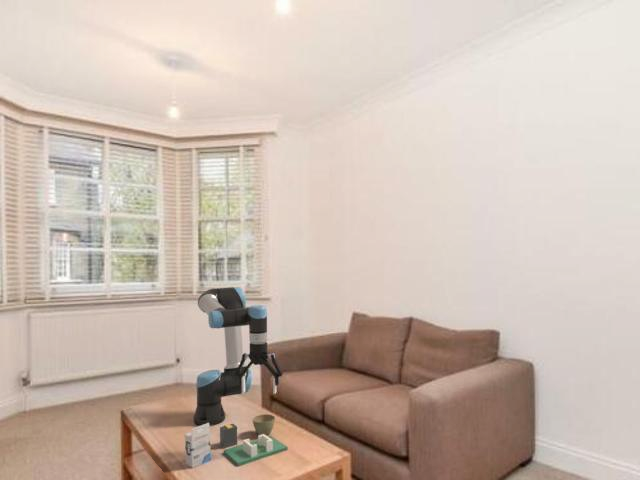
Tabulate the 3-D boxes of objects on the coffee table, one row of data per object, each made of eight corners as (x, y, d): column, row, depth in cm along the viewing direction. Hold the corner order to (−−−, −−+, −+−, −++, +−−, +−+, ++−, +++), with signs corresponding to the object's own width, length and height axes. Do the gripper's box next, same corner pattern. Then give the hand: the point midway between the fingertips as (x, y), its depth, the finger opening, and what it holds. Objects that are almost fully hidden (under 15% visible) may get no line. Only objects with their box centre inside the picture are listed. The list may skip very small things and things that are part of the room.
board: (223, 453, 175) (223, 440, 175) (270, 438, 188) (270, 426, 188) (238, 466, 164) (238, 452, 164) (287, 449, 177) (287, 436, 177)
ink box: (203, 456, 173) (202, 419, 173) (211, 460, 170) (210, 422, 170) (184, 464, 166) (184, 426, 167) (192, 468, 163) (191, 429, 164)
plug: (220, 445, 183) (219, 426, 183) (233, 441, 186) (233, 422, 187) (224, 448, 180) (223, 429, 180) (237, 444, 183) (236, 425, 183)
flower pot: (271, 439, 187) (271, 422, 187) (249, 438, 189) (249, 421, 189) (278, 430, 197) (277, 414, 197) (257, 429, 199) (257, 413, 199)
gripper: (227, 344, 180) (227, 395, 180) (285, 344, 177) (286, 396, 177) (232, 340, 188) (233, 389, 187) (288, 340, 185) (289, 390, 184)
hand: (259, 392), depth 182 cm, fingers open, 13 cm apart
